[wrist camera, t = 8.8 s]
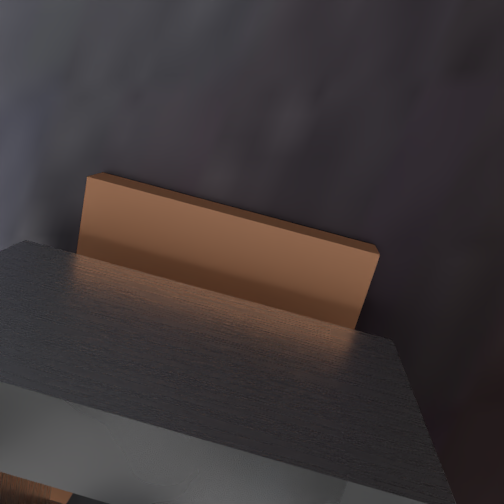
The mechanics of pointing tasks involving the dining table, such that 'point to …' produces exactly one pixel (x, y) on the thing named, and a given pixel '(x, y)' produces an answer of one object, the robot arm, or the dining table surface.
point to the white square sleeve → (194, 396)
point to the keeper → (223, 254)
